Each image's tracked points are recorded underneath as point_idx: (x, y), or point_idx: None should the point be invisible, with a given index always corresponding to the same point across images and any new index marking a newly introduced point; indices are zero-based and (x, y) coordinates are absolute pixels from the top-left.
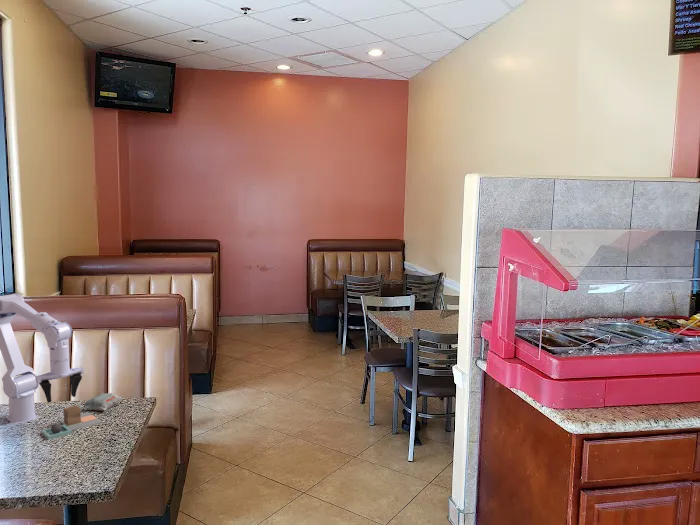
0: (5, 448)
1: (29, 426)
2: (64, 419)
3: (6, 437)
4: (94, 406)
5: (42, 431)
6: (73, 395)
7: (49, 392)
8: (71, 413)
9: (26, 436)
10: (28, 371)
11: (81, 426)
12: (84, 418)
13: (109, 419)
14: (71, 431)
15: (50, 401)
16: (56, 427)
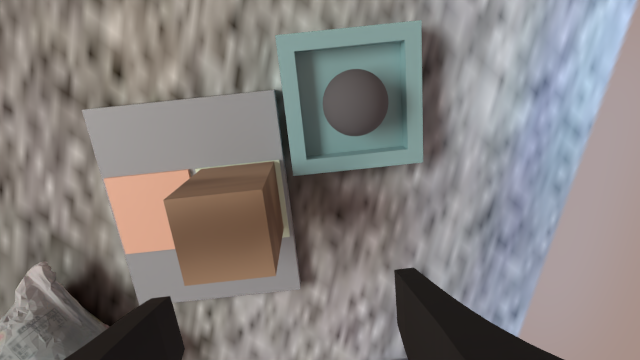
0: (609, 78)
1: None
2: (281, 230)
3: (551, 229)
4: (91, 334)
5: (422, 139)
6: (162, 305)
7: (463, 332)
8: (238, 185)
9: (478, 183)
10: None
11: (206, 110)
12: None
13: (41, 159)
14: (277, 37)
15: (403, 272)
16: (363, 75)
